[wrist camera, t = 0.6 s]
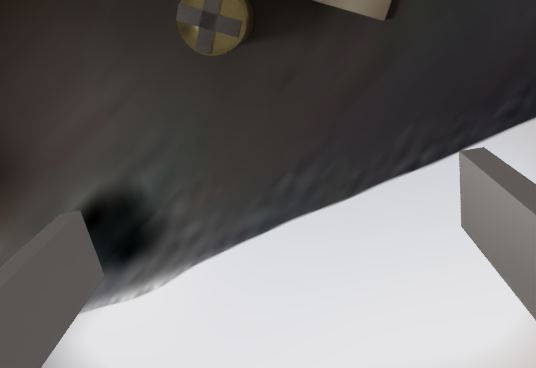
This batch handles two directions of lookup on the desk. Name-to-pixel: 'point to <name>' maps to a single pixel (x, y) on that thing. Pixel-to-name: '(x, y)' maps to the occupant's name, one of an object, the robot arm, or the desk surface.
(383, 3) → the shaft rig
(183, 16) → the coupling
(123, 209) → the desk surface
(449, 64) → the desk surface
